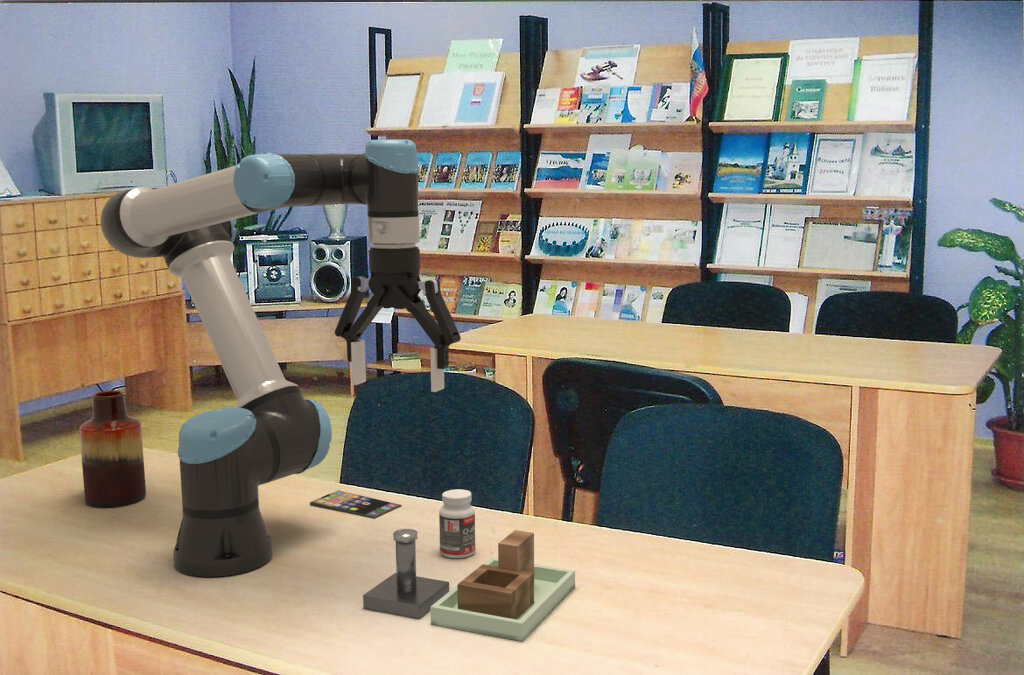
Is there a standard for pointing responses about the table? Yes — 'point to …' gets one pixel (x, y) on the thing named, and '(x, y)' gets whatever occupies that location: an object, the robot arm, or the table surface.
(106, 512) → the table surface
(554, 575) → the tray
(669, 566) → the table surface
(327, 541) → the table surface
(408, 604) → the grey peg stand
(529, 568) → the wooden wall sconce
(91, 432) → the vase
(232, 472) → the robot arm
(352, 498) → the smartphone
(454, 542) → the pill bottle
